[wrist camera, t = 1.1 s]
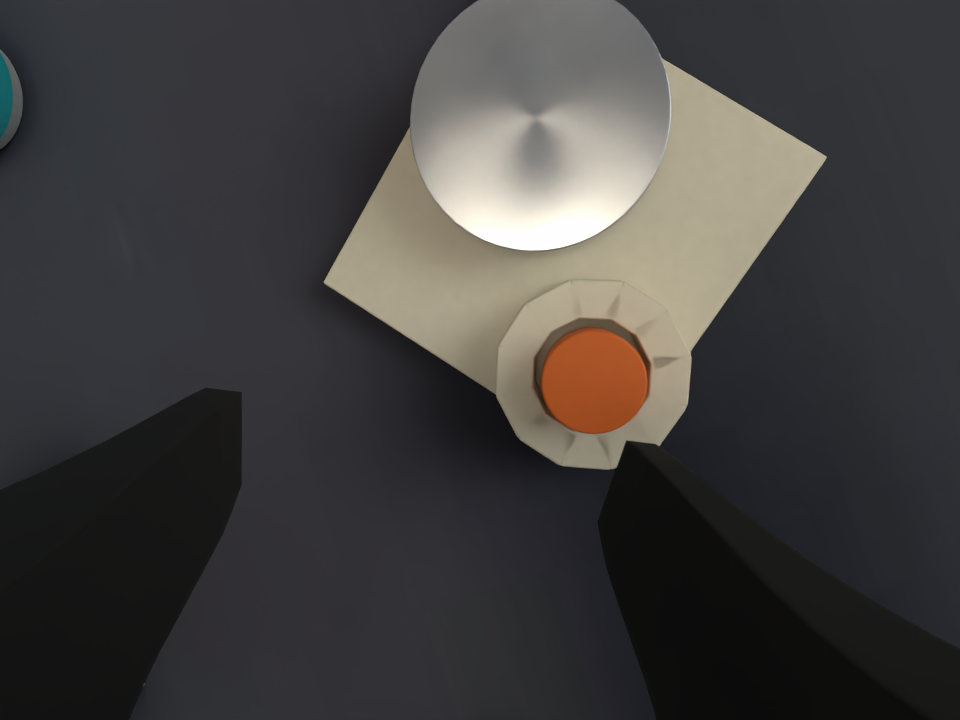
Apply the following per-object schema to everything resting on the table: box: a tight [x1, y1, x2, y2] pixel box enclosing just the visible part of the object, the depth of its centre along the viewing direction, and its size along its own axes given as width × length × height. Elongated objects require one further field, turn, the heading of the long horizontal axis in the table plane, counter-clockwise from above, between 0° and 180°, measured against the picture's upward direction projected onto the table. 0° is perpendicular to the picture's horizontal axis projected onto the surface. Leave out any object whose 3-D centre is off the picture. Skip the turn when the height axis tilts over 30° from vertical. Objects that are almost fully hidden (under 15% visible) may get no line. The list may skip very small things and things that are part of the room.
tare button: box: [541, 327, 648, 434], centre depth 17 cm, size 3×3×2 cm
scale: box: [324, 59, 827, 470], centre depth 18 cm, size 12×12×3 cm
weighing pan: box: [410, 0, 671, 252], centre depth 16 cm, size 8×8×1 cm
